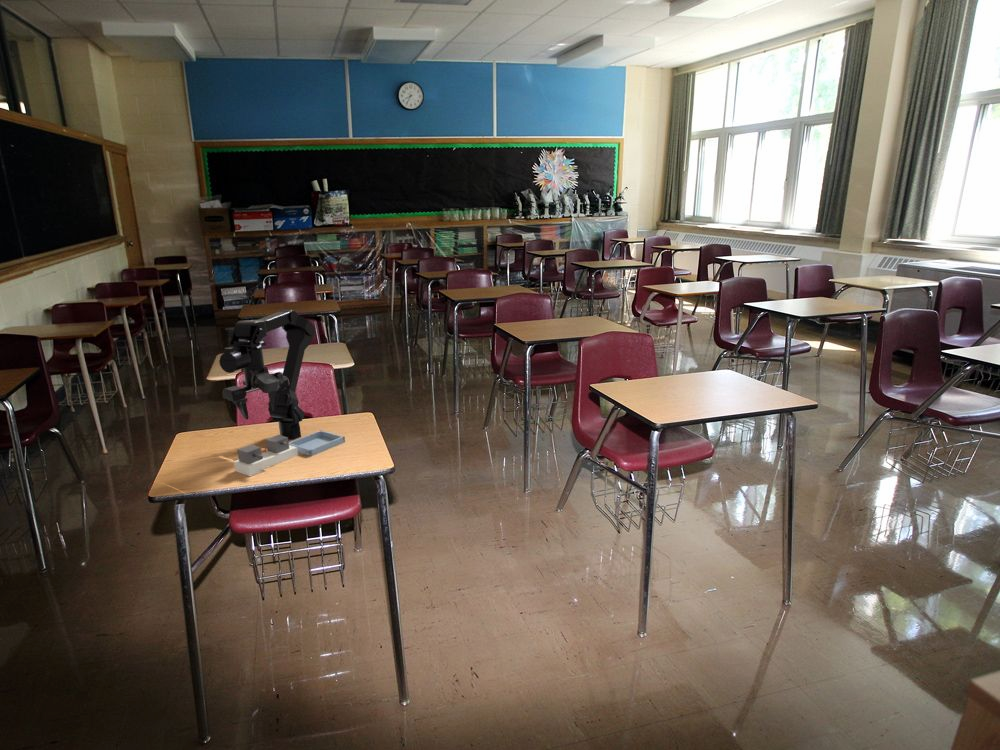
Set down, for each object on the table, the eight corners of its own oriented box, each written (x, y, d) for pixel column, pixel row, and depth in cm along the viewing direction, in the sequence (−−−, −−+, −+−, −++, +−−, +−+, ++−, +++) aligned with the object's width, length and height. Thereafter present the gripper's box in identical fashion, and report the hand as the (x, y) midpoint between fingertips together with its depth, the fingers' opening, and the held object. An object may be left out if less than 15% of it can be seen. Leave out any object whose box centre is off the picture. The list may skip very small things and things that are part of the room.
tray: (287, 450, 189) (286, 443, 188) (321, 437, 199) (321, 430, 198) (311, 457, 183) (310, 450, 182) (345, 443, 193) (344, 436, 192)
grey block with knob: (268, 458, 182) (265, 439, 180) (281, 453, 185) (278, 434, 184) (281, 463, 178) (279, 443, 177) (294, 457, 182) (292, 438, 180)
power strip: (235, 471, 175) (232, 449, 173) (283, 452, 188) (280, 432, 186) (255, 478, 170) (251, 456, 168) (303, 458, 182) (300, 437, 181)
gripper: (240, 375, 169) (248, 429, 173) (297, 360, 183) (303, 410, 187) (217, 369, 175) (225, 422, 179) (274, 356, 189) (280, 404, 194)
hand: (260, 414), depth 185 cm, fingers open, 9 cm apart
